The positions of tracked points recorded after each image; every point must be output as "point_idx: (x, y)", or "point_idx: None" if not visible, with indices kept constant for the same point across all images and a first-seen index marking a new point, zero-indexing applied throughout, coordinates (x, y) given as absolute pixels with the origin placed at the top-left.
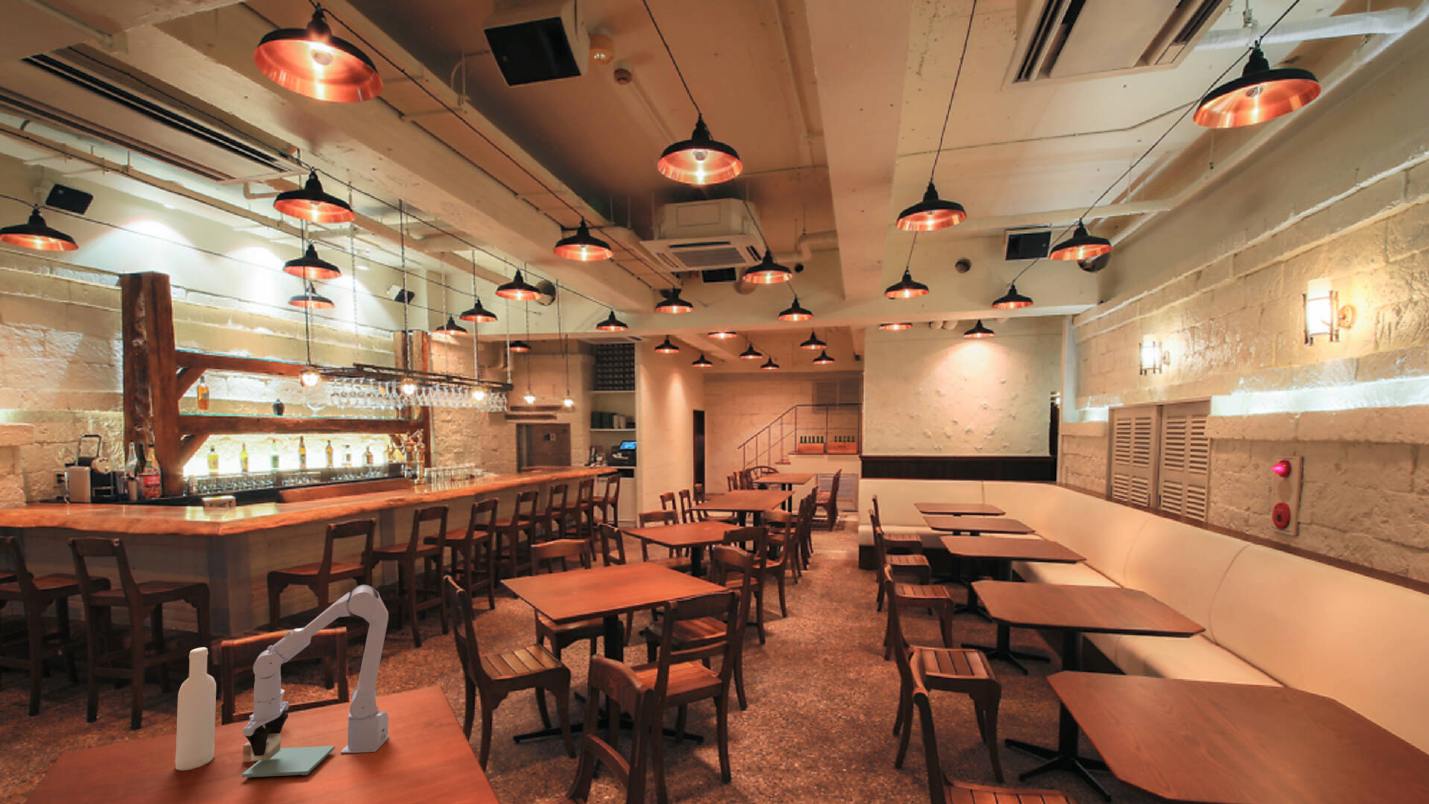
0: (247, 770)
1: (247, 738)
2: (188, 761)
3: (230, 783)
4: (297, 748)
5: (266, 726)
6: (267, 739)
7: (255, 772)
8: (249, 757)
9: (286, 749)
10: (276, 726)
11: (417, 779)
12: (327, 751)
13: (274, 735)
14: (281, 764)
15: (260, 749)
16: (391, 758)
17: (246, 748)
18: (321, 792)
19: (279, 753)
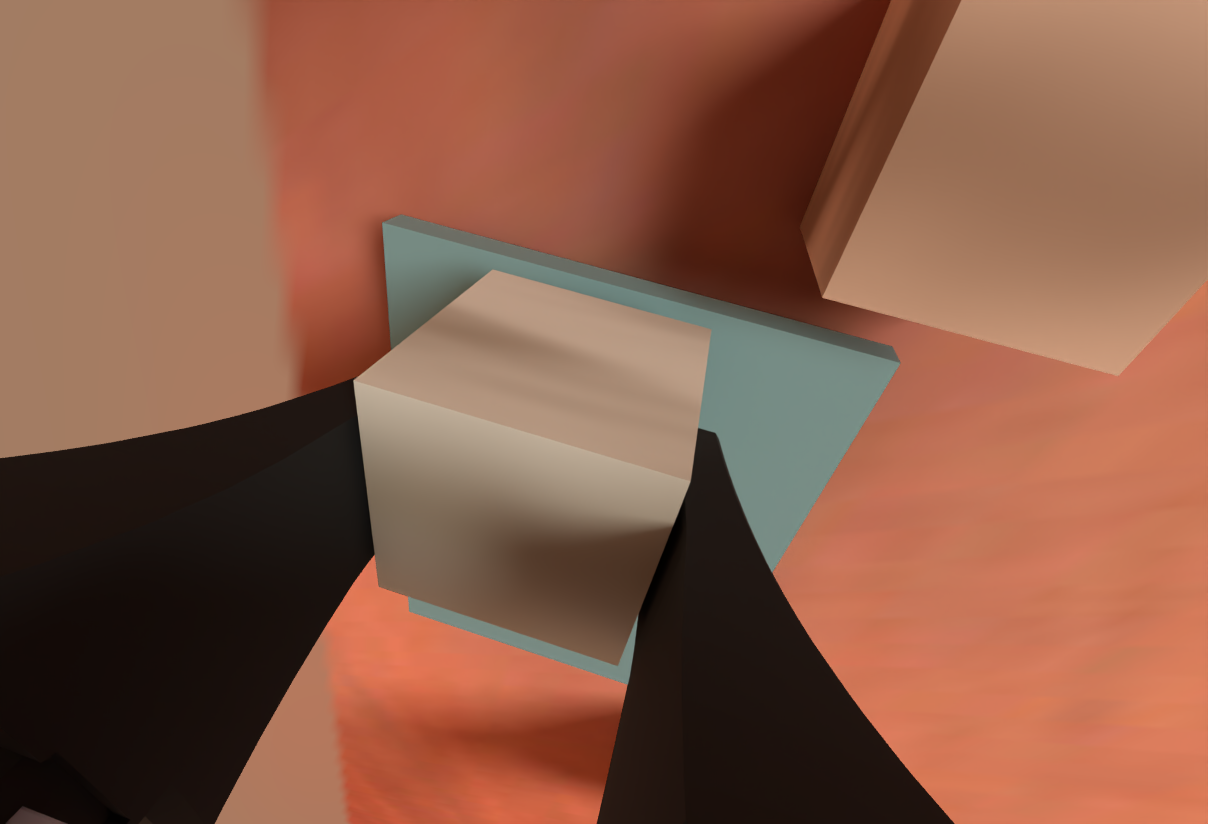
0: (443, 250)
1: (49, 464)
2: None
3: (397, 97)
4: (763, 548)
5: (667, 658)
6: (453, 564)
7: (404, 339)
8: (868, 85)
9: (790, 479)
10: (620, 750)
11: (404, 788)
12: (623, 679)
13: (564, 619)
14: None
15: None
16: (550, 779)
17: (939, 13)
18: None
19: (727, 438)
